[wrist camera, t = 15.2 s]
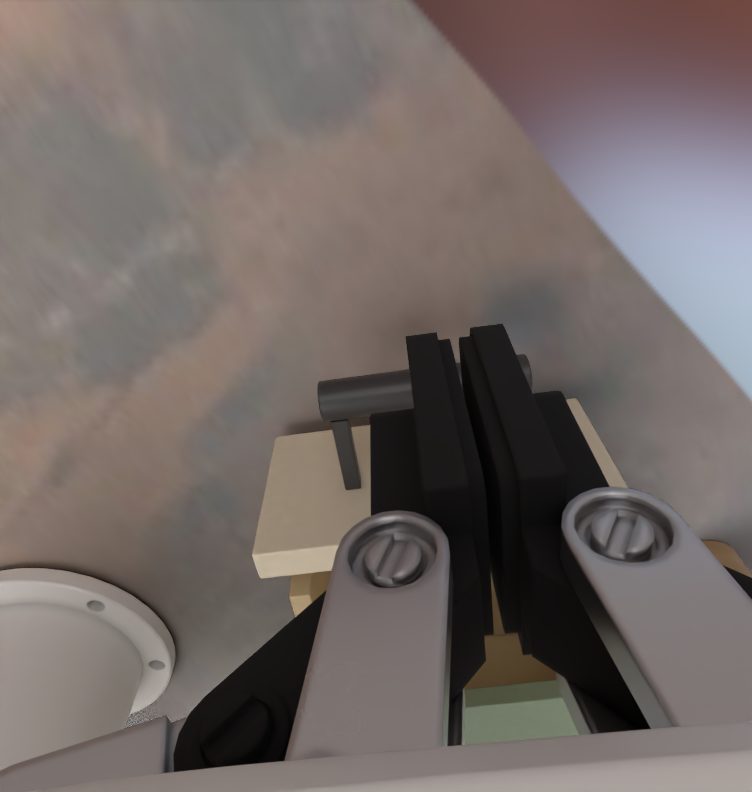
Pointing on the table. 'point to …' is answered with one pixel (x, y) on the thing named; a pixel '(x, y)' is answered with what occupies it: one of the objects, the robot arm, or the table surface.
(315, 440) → the drawer
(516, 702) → the cabinet
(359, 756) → the robot arm
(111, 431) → the table surface
